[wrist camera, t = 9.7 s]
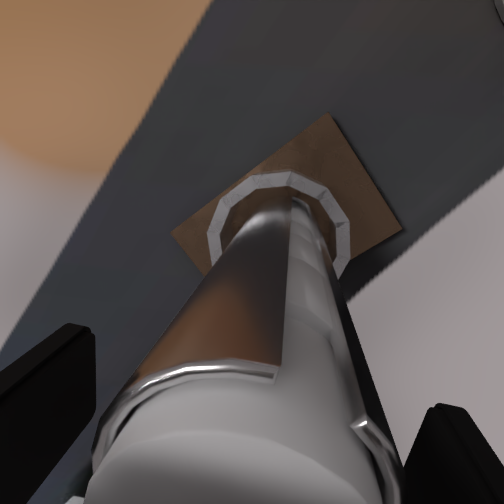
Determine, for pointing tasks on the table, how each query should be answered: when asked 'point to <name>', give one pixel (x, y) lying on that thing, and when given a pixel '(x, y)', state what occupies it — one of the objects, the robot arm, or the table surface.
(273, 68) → the table surface
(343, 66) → the table surface
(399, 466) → the silver long cylinder
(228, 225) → the duct collar
